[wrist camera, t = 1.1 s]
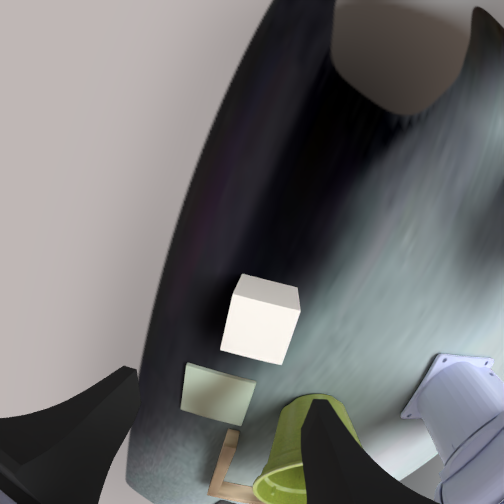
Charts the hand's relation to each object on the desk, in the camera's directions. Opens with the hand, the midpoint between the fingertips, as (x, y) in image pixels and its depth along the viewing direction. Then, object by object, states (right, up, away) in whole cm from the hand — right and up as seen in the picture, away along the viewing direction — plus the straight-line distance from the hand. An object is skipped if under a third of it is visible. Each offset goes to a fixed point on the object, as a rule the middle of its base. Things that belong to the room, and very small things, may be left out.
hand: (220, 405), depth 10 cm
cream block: (+2, +2, +10) cm, 11 cm away
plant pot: (+7, -9, +12) cm, 17 cm away
